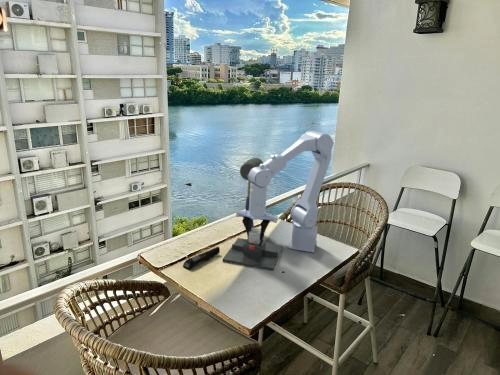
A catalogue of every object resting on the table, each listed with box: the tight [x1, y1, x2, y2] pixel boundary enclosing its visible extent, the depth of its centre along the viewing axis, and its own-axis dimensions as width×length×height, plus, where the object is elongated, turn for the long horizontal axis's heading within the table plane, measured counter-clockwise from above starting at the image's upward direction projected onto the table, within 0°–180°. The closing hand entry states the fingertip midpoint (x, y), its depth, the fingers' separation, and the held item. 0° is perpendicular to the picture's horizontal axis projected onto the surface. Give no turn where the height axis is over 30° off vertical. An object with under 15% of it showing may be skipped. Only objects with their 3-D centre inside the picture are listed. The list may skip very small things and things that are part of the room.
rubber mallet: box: [239, 157, 264, 230], centre depth 147 cm, size 12×8×30 cm, turn 164°
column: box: [248, 227, 262, 246], centre depth 129 cm, size 4×4×8 cm
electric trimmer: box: [182, 246, 221, 271], centre depth 124 cm, size 4×16×3 cm, turn 141°
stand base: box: [222, 237, 284, 272], centre depth 130 cm, size 18×18×5 cm
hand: (255, 237), depth 128 cm, fingers closed on column, 4 cm apart
